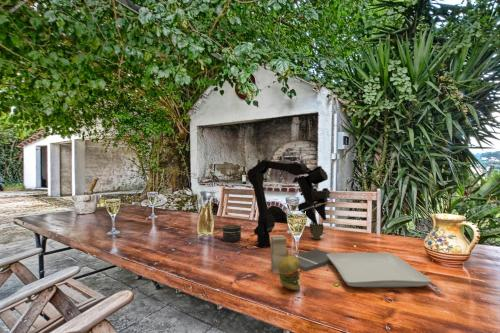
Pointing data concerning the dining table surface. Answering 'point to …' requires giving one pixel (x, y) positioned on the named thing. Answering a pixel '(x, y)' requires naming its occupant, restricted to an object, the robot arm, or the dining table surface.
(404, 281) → the square plate
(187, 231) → the dining table surface
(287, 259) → the hamburger
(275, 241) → the birch post
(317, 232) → the cup
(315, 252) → the charcoal board
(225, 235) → the jar
